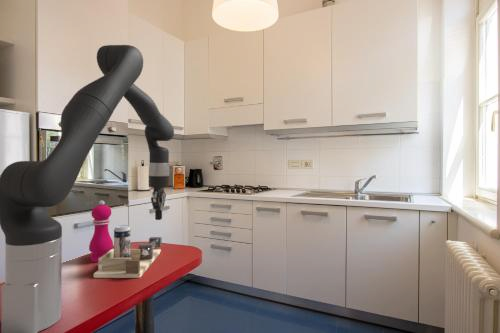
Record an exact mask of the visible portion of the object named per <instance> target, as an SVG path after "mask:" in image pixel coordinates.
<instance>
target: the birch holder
mask: <svg viewBox="0 0 500 333" xmlns="http://www.w3.org/2000/svg"><path fill="white" fill-rule="evenodd" d="M144 249H149V253H148V255H147V256H145V257H143V256H142V255H141V252H142V251H143V250H144ZM160 252H161V253H162V249H161V248H153V244H149V243H139V244H138V248H130V258H114V248H112V249H111V250H110V251H109V252H107V253H106V254H104V255H103V256H102V257H100V258H99V259H98V262H97V264H98V270H96V271H95V272H94V273H93V278H94V279H103V278H104V279H109V278H110V279H112V278H113V279H114V278H115V279H120V278H121V279H122V278H123V279H127V278H129V279H131V278H132V279H134V278H136V279H137V278H138V279H139V278H141V277H142V276H143V275H144V273H145V272H146V271H147V270H148V269H149V268H150V266H151V265H152V263H153V262H154V261H155V260H156V259H157V258H158V256H159V255H160V254H161V253H160Z"/></svg>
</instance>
